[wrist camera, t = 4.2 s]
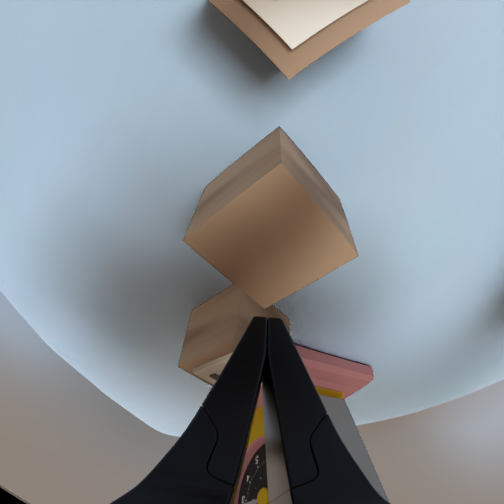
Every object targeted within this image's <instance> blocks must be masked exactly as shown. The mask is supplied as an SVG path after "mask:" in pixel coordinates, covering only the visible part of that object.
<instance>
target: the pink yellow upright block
mask: <svg viewBox="0 0 504 504" xmlns="http://www.w3.org/2000/svg"><path fill="white" fill-rule="evenodd" d="M295 346H296V348H297V350H298V352H299V354H300V356H301V359H302V361H303V363H304V365H305V367H306V369H307V371H308V373H309V375H310V377H311V379H312V381H313V383H314V385H315V388H316V390H317V392H318V394H319V396H320V398H321V400H322V402H323V404H324V406H325V408H326V410H327V413H326V414H329V416H330V418H331V420H332V422H333V425H334V426H335V428H336V430H337V432H338V434H339V436H340V438H341V440H342V441H343V443H344V444H345V446H346V448H347V449H348V451H349V452H350V454H351V455H352V457H353V458H354V460H355V461H356V463H357V464H358V466H359V467H360V469H361V470H362V472H363V473H364V475H365V476H366V478H367V479H368V481H369V482H370V483H371V485H372V486H373V487H374V489H375V490H376V491H377V492H378V493H379V494H380V495H381V496H382V497H383V498H384V499H385V500H386V501H388V498H387V496H386V494H385V491H384V489H383V486H382V484H381V482H380V480H379V477H378V475H377V473H376V470H375V468H374V466H373V463H372V461H371V459H370V457H369V454H368V452H367V450H366V447H365V445H364V443H363V441H362V438H361V436H360V434H359V431H358V429H357V427H356V425H355V423H354V420H353V418H352V416H351V414H350V411H349V409H348V407H347V405H346V402H345V400H344V399H345V398H346V397H348V396H350V395H351V394H353V393H354V392H356V391H358V390H359V389H361V388H362V387H364V386H365V385H367V384H368V383H369V382H370V381H372V380H373V372H372V367H370V366H367V365H364V364H360V363H356V362H353V361H349V360H346V359H342V358H338V357H335V356H332V355H328V354H325V353H321V352H318V351H315V350H311V349H308V348H305V347H302V346H299V345H295ZM388 502H389V501H388ZM234 504H269V498H268V481H267V464H266V448H265V431H264V414H263V398H262V388H261V389H260V394H259V398H258V403H257V408H256V412H255V417H254V421H253V425H252V430H251V434H250V439H249V443H248V447H247V451H246V456H245V460H244V464H243V468H242V472H241V476H240V480H239V485H238V489H237V493H236V496H235V500H234Z"/></svg>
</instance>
